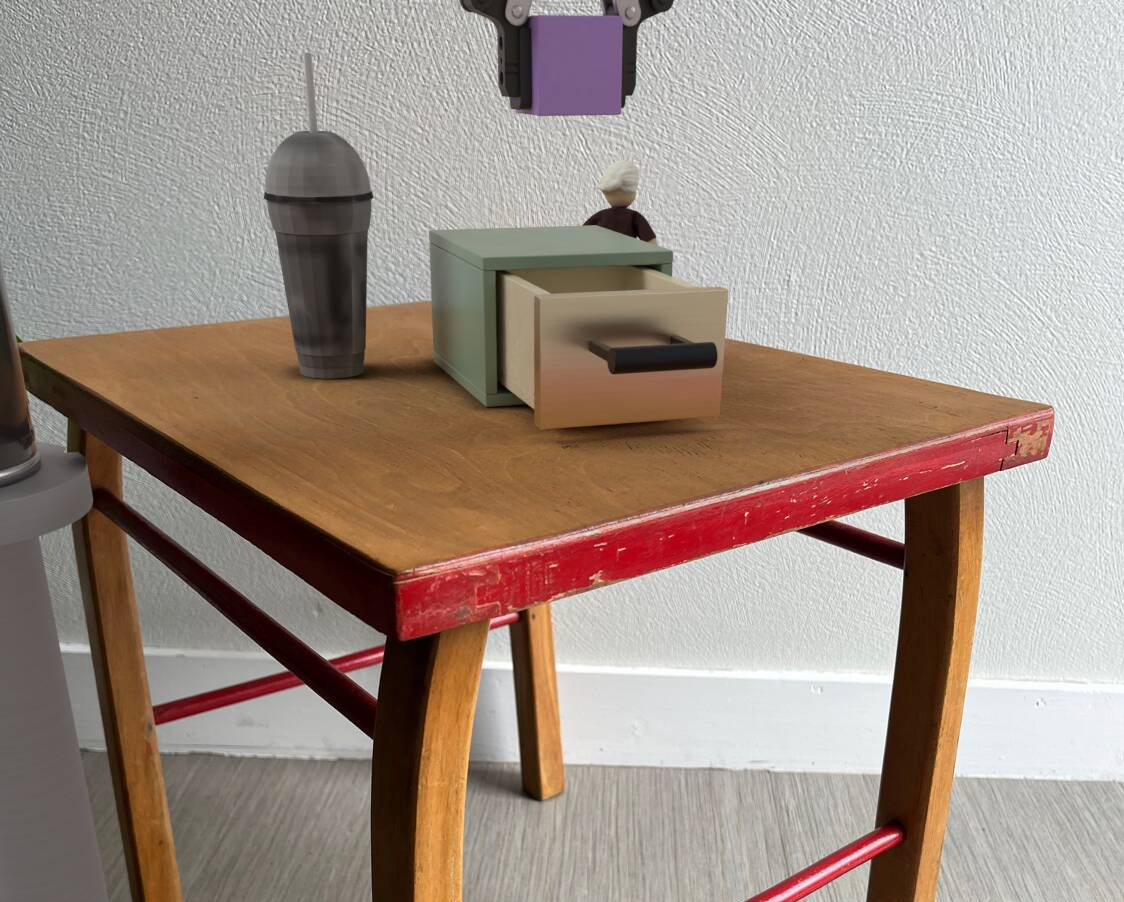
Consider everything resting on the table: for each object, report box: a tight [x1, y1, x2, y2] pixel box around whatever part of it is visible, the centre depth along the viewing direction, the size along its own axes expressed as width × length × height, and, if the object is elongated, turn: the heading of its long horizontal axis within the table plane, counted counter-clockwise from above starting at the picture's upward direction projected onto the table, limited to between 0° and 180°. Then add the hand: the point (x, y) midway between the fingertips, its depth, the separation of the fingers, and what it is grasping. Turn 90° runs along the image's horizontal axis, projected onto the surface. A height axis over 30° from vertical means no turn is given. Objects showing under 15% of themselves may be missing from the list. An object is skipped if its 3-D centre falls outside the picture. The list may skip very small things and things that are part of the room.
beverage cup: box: [263, 52, 374, 380], centre depth 87 cm, size 7×7×20 cm
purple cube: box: [515, 14, 623, 117], centre depth 67 cm, size 4×4×4 cm
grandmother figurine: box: [581, 159, 659, 246], centre depth 106 cm, size 8×4×13 cm, turn 77°
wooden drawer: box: [495, 265, 729, 431], centre depth 78 cm, size 18×11×7 cm, turn 18°
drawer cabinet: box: [428, 225, 674, 408], centre depth 88 cm, size 15×13×9 cm
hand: (566, 106), depth 68 cm, fingers closed on purple cube, 4 cm apart
